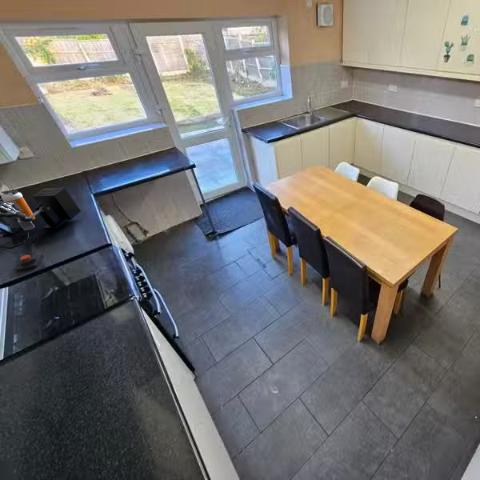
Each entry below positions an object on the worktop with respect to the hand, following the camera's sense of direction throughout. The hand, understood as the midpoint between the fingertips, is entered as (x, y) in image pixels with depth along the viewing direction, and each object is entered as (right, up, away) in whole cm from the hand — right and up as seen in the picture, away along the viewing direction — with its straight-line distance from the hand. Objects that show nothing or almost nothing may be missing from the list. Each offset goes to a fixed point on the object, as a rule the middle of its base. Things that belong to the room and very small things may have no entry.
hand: (24, 217), depth 154 cm
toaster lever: (0, +2, +7) cm, 7 cm away
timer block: (+15, -26, -10) cm, 31 cm away
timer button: (+15, -23, -13) cm, 30 cm away
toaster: (-1, +4, +26) cm, 27 cm away
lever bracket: (-1, -3, +19) cm, 19 cm away
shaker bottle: (-23, 0, +23) cm, 32 cm away
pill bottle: (-14, -5, +16) cm, 22 cm away
